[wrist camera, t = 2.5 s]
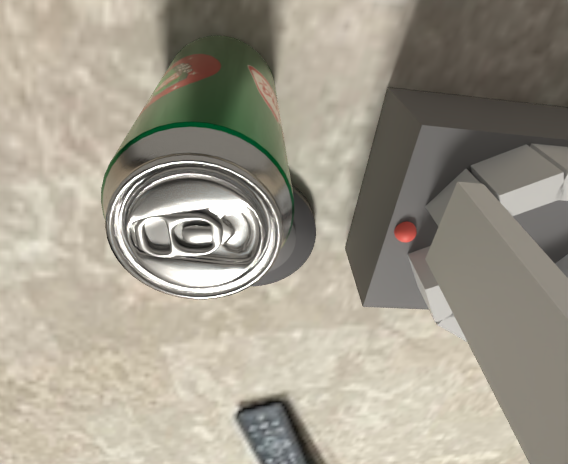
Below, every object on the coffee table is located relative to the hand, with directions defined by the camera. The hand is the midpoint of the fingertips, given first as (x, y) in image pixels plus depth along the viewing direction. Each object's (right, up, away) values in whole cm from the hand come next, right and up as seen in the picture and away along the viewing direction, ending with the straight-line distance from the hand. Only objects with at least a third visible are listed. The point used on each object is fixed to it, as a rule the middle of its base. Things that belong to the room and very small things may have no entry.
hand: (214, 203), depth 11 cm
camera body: (+14, +2, +13) cm, 19 cm away
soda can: (-1, +6, +9) cm, 11 cm away
